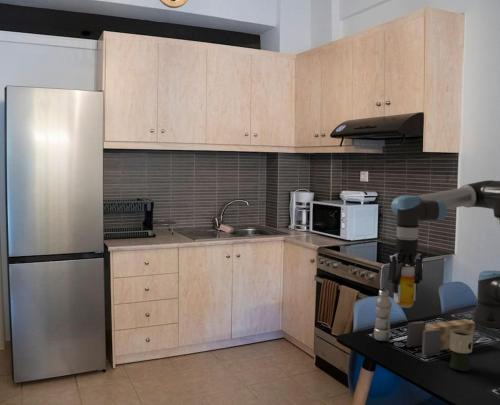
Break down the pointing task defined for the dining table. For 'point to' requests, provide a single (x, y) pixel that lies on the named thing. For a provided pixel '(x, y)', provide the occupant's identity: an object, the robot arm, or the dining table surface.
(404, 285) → the beer can
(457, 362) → the character mug
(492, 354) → the dining table surface
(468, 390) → the dining table surface
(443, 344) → the tan wooden block
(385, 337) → the plastic bottle
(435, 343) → the chute
